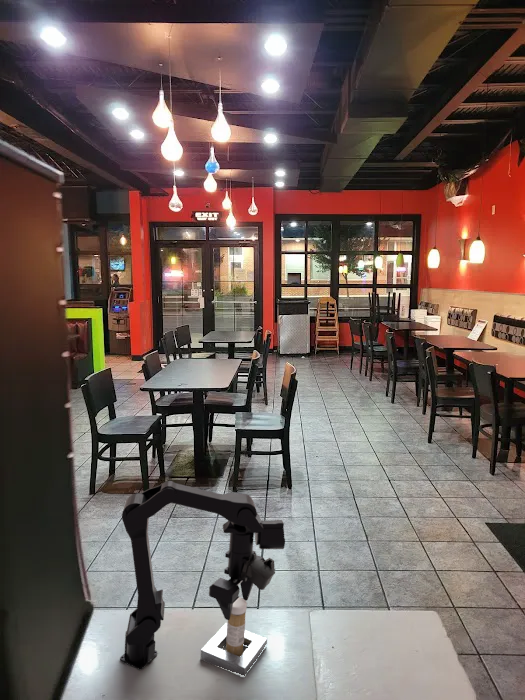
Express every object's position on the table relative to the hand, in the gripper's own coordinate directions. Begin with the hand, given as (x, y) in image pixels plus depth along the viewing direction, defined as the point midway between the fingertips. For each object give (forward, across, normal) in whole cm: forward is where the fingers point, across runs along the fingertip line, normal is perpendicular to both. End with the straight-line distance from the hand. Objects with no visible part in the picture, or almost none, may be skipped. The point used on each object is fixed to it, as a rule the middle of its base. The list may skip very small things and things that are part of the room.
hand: (236, 609), depth 121 cm
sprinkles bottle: (+12, 0, 0) cm, 12 cm away
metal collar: (+12, 0, 0) cm, 12 cm away
